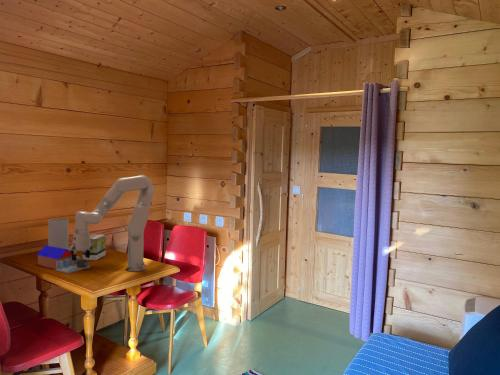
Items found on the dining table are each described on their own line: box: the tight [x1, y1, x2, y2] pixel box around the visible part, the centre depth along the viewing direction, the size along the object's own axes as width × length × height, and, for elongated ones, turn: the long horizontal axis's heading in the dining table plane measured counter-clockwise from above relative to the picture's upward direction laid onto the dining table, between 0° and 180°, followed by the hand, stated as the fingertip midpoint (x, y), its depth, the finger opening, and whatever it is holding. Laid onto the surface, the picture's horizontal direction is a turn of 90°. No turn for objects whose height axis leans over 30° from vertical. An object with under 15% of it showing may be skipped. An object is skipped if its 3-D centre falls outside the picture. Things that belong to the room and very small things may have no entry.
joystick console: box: [54, 256, 91, 274], centre depth 239 cm, size 11×16×5 cm
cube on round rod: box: [75, 258, 89, 268], centre depth 241 cm, size 10×4×4 cm, turn 61°
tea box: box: [82, 234, 107, 261], centre depth 267 cm, size 15×10×15 cm, turn 179°
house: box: [36, 245, 72, 270], centre depth 246 cm, size 12×20×12 cm, turn 63°
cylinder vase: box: [47, 217, 70, 250], centre depth 270 cm, size 12×12×25 cm
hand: (80, 259), depth 241 cm, fingers open, 9 cm apart
